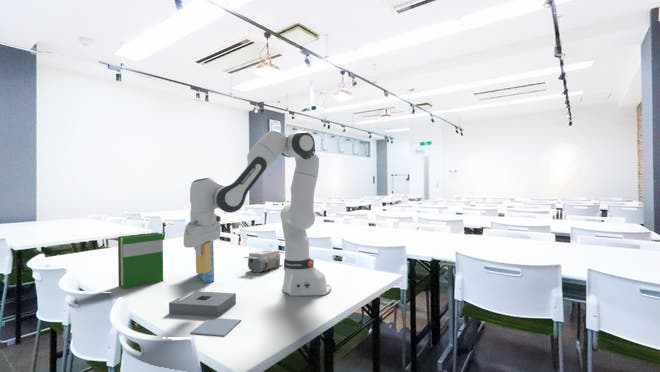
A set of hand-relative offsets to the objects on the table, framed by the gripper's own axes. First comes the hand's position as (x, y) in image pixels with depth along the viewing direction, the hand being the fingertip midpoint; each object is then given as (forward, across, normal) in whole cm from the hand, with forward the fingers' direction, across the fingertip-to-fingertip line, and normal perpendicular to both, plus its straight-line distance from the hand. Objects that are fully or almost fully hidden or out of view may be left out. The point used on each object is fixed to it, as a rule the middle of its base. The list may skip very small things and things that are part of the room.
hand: (203, 254), depth 128 cm
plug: (+7, 0, 0) cm, 7 cm away
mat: (+21, -15, -14) cm, 29 cm away
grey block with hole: (+21, 0, 0) cm, 21 cm away
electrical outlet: (+22, +62, 0) cm, 65 cm away
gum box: (+21, +39, +23) cm, 50 cm away
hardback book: (+21, +25, +49) cm, 59 cm away
